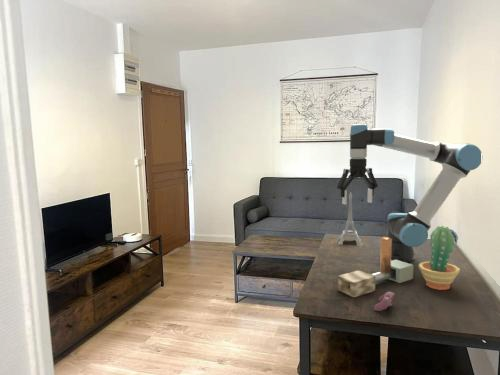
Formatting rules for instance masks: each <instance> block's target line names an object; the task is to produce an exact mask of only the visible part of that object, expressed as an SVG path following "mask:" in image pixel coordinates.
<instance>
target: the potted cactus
mask: <svg viewBox="0 0 500 375" xmlns="http://www.w3.org/2000/svg"><path fill="white" fill-rule="evenodd" d="M429 240H430V241H429V242H430V247H431V248H430V249H431V255H430V261H429V260H427V261H423V262H420V263H419V264H418V269H419V271H421V274H422V275H421V276H422V277H423V278H424V280H425V282H426V283H425V285H426V286H427V287H429V288H431V289H434V290H440V291H443V290H444V291H445V290H446V291H447V290H449V289H450V288H451V284H452V283H454V281H455V278H456V276H457V277H458V275H459V274H460V271H461V269H460V268H459V267H458V266H456V265H454V264H451V263H448V262H449V260H450V256H451V254H452V252H453V251H454V248H455V244H458V240H459V236H458V234H457V233H456V231H455V230H454V229H450V228H449V227H448V226H443V225H441V226H439V225H438V226H437V227H435V229H434V230H432V232H431V234H430V238H429Z"/></svg>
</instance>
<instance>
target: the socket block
mask: <svg viewBox="0 0 500 375" xmlns="http://www.w3.org/2000/svg"><path fill="white" fill-rule="evenodd" d="M391 269H395V270H396V276H395V277H392V278H389V279H388V280H390V281H393V282H395V283H397V284H401V283H404V282H407V281H410V280H413V279H414V264H412V263H408V262H402V261H399V260H391Z"/></svg>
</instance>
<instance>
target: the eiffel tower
mask: <svg viewBox="0 0 500 375" xmlns="http://www.w3.org/2000/svg"><path fill="white" fill-rule="evenodd" d="M348 201H349V202H348V213H347V221H346V225H345V228H344V230H342V233H341V234H340V236H339V237H338V238H337V240H338V242H337V245H338V246H340V245H341V246H343V245H344V244H343V242H344V241H345V240H346V239H348V238H352V239H353V240H355V242H356V246H358V247H359V246H363V243H362V242H361V241H362V239H361V238H360V236H359V235H358V232H357V230H356V228H355V225H354V222H355V221H354V220H353V194H352V192H351V191H350V192H349V194H348ZM350 226H351V230H349V227H350Z"/></svg>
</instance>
